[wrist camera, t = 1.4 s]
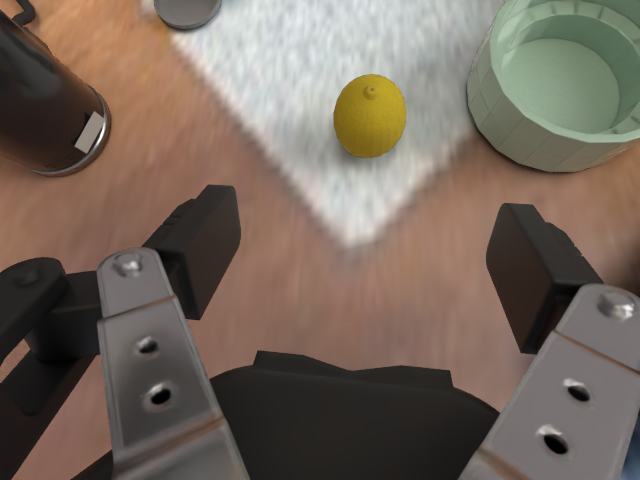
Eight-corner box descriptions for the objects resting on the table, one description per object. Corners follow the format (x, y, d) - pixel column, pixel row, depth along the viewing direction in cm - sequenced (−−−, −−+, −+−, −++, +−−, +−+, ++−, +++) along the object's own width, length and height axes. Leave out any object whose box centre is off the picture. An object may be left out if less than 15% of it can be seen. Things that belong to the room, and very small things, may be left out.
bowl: (431, 83, 34) (449, 34, 28) (557, -4, 34) (600, -69, 28) (541, 207, 31) (586, 182, 25) (676, 110, 31) (751, 64, 25)
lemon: (336, 173, 33) (331, 128, 25) (335, 114, 34) (330, 54, 26) (400, 170, 32) (416, 125, 24) (397, 111, 33) (412, 49, 25)
